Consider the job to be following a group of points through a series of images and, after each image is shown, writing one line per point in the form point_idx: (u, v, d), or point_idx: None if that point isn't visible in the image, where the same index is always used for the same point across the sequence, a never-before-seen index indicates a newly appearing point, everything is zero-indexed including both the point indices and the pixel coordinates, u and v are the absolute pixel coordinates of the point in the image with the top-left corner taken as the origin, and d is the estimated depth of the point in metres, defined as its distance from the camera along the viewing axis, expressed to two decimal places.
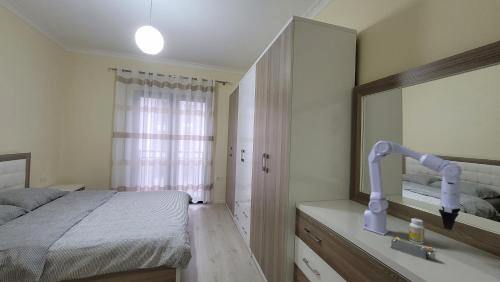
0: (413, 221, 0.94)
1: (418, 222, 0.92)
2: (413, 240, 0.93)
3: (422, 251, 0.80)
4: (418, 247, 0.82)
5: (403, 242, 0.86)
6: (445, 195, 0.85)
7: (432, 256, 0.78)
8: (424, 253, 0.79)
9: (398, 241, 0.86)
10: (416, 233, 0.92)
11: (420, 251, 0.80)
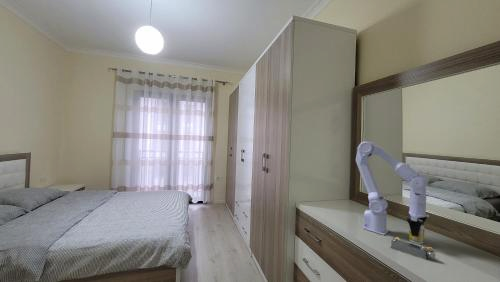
0: None
1: None
2: (413, 240, 0.93)
3: (422, 251, 0.80)
4: (418, 247, 0.82)
5: (403, 242, 0.86)
6: (412, 205, 0.93)
7: (432, 256, 0.78)
8: (424, 253, 0.79)
9: (398, 241, 0.86)
10: None
11: (420, 251, 0.80)
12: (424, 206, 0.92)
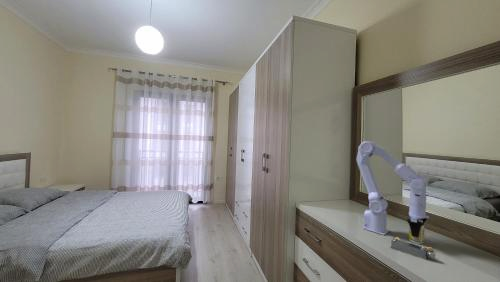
0: None
1: None
2: (413, 240, 0.93)
3: (422, 251, 0.80)
4: (418, 247, 0.82)
5: (403, 242, 0.86)
6: (412, 206, 0.93)
7: (432, 256, 0.78)
8: (424, 253, 0.79)
9: (398, 241, 0.86)
10: None
11: (420, 251, 0.80)
12: (424, 207, 0.92)
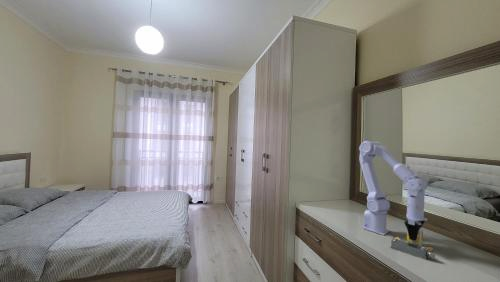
0: None
1: None
2: (411, 243, 0.89)
3: (422, 251, 0.80)
4: (418, 247, 0.82)
5: (403, 242, 0.86)
6: (410, 208, 0.90)
7: (432, 256, 0.78)
8: (424, 253, 0.79)
9: (398, 241, 0.86)
10: None
11: (420, 251, 0.80)
12: (422, 209, 0.88)
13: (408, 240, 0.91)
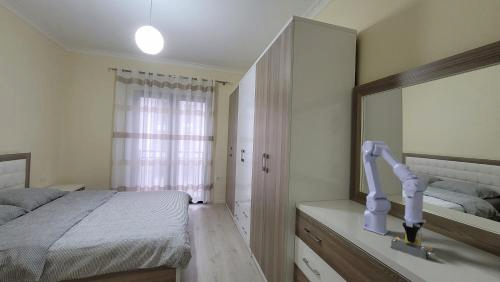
0: None
1: None
2: None
3: (422, 251, 0.80)
4: (418, 247, 0.82)
5: (403, 242, 0.86)
6: (408, 209, 0.88)
7: (432, 256, 0.78)
8: (424, 253, 0.79)
9: (398, 241, 0.86)
10: None
11: (420, 251, 0.80)
12: (420, 211, 0.86)
13: None
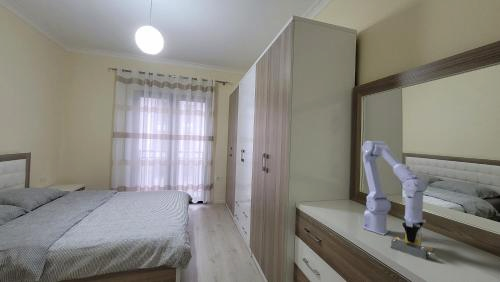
0: None
1: None
2: None
3: (422, 251, 0.80)
4: (418, 247, 0.82)
5: (403, 242, 0.86)
6: (408, 209, 0.88)
7: (432, 256, 0.78)
8: (424, 253, 0.79)
9: (398, 241, 0.86)
10: None
11: (420, 251, 0.80)
12: (420, 211, 0.86)
13: None
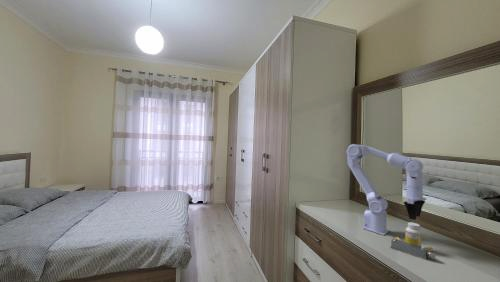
0: (410, 226, 0.88)
1: (415, 227, 0.87)
2: None
3: (422, 251, 0.80)
4: (418, 247, 0.82)
5: (403, 242, 0.86)
6: (409, 188, 0.94)
7: (432, 256, 0.78)
8: (424, 253, 0.79)
9: (398, 241, 0.86)
10: (413, 238, 0.87)
11: (420, 251, 0.80)
12: (421, 189, 0.92)
13: None
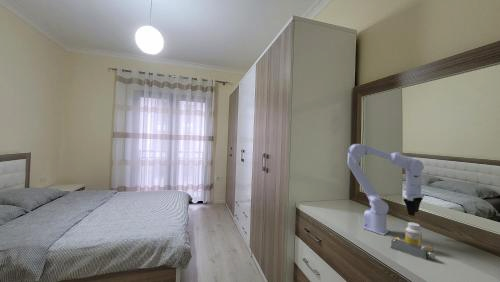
0: (410, 226, 0.88)
1: (415, 227, 0.87)
2: None
3: (422, 251, 0.80)
4: (418, 247, 0.82)
5: (403, 242, 0.86)
6: (408, 186, 1.00)
7: (432, 256, 0.78)
8: (424, 253, 0.79)
9: (398, 241, 0.86)
10: (413, 238, 0.87)
11: (420, 251, 0.80)
12: (419, 187, 0.98)
13: None
